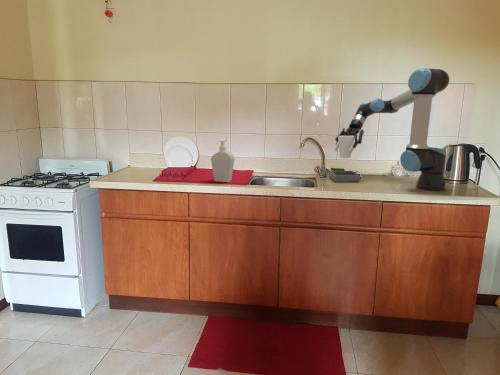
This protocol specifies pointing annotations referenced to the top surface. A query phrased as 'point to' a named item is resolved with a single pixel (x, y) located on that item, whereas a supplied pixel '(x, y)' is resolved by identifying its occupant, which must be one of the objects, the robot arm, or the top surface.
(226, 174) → the soap bottle
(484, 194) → the top surface
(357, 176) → the tray
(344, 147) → the foam cup
